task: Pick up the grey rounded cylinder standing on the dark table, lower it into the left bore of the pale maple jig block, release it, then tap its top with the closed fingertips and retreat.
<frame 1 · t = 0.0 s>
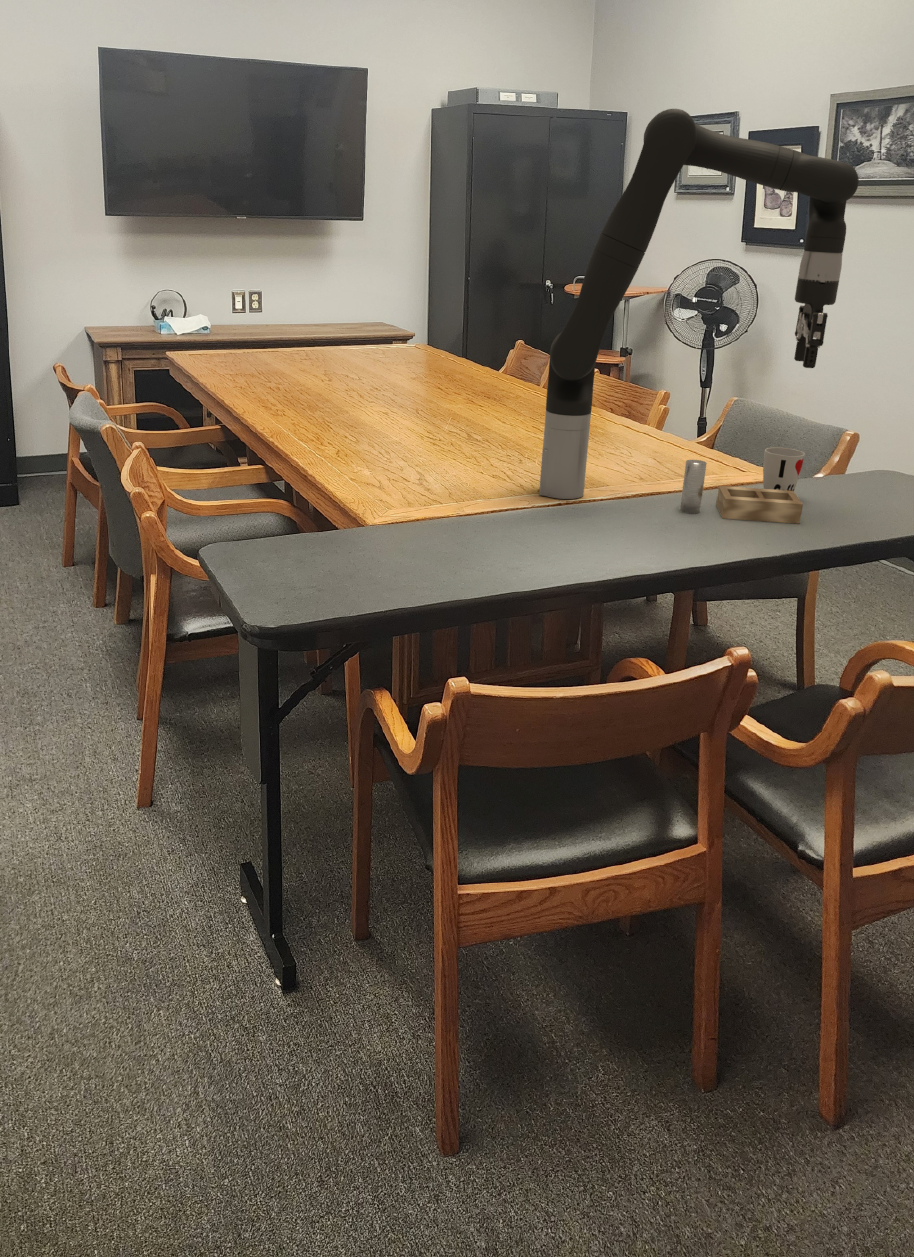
hand: (804, 364, 207), 29 cm above the table, fingers open, 8 cm apart
grey rounded cylinder: (689, 510, 214), on the table
cup: (777, 498, 226), on the table
jig: (756, 513, 214), on the table
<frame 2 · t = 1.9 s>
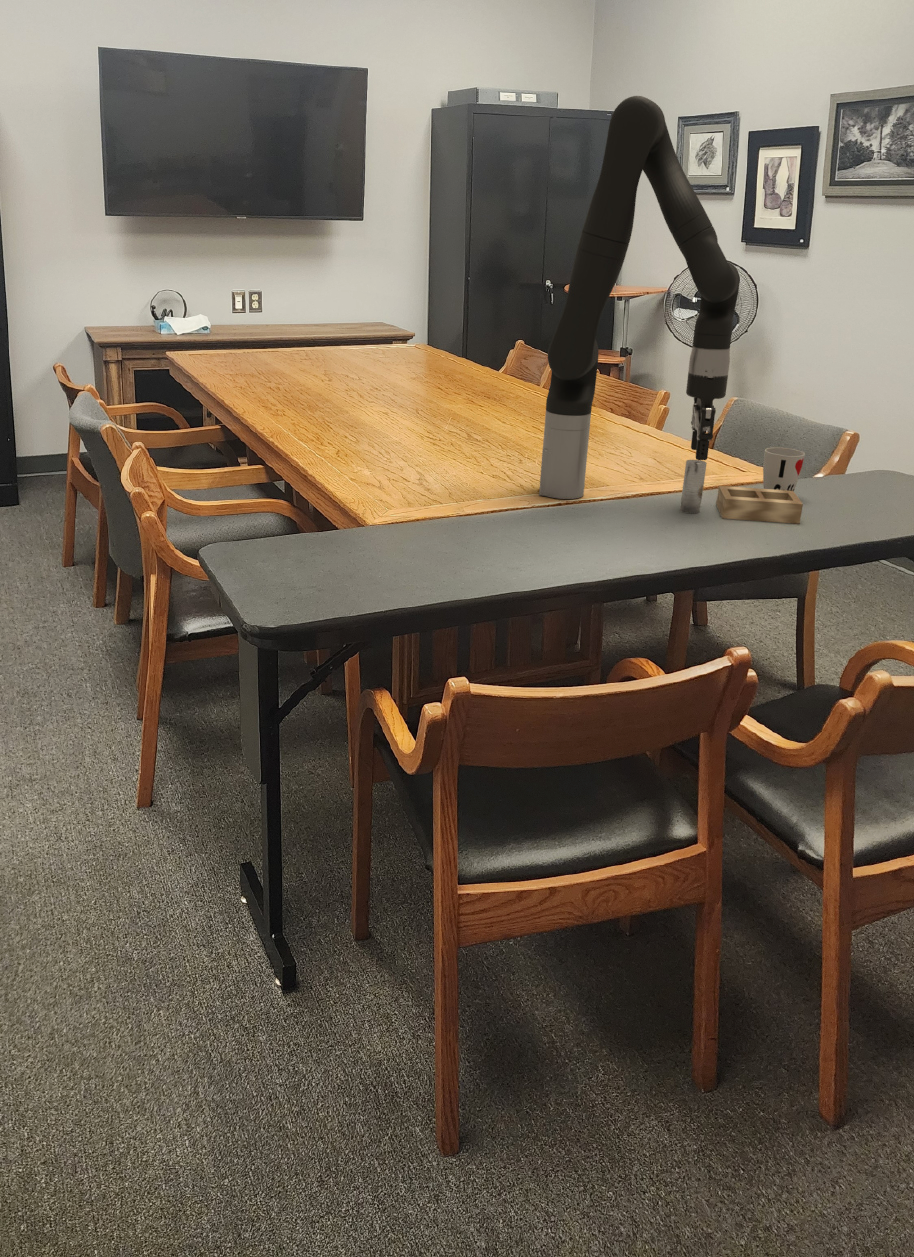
hand: (698, 454, 209), 11 cm above the table, fingers open, 8 cm apart
nothing on the table moved.
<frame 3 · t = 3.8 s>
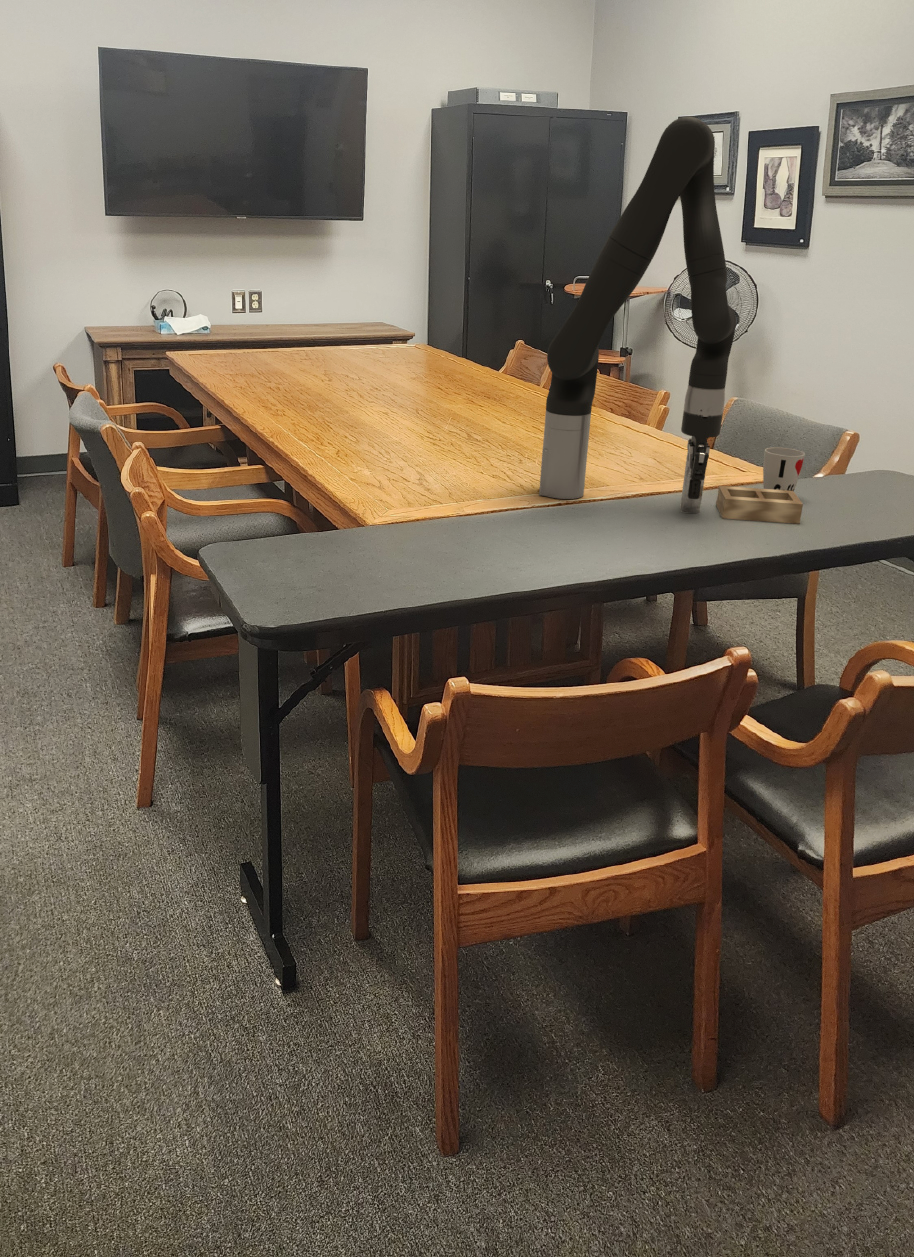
hand: (692, 495, 212), 3 cm above the table, fingers closed on grey rounded cylinder, 4 cm apart
grey rounded cylinder: (689, 510, 214), on the table, touching gripper
everything else where it was.
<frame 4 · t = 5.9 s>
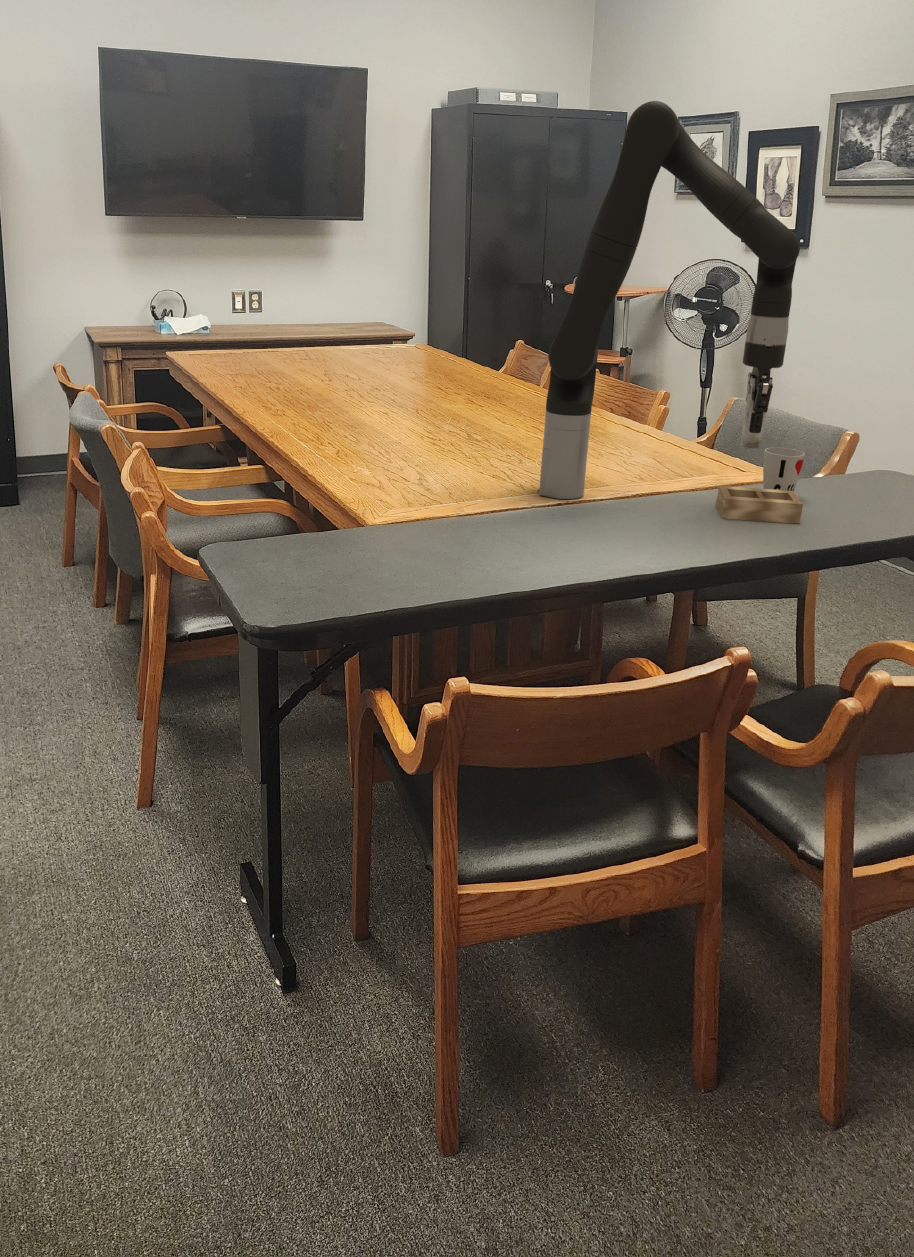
hand: (752, 429, 207), 17 cm above the table, fingers closed on grey rounded cylinder, 4 cm apart
grey rounded cylinder: (750, 446, 209), point 14 cm above the table, touching gripper
everything else where it was.
when the fingers open (5 cm above the table, at t = 8.3 s): grey rounded cylinder drops 2 cm, resting in jig.
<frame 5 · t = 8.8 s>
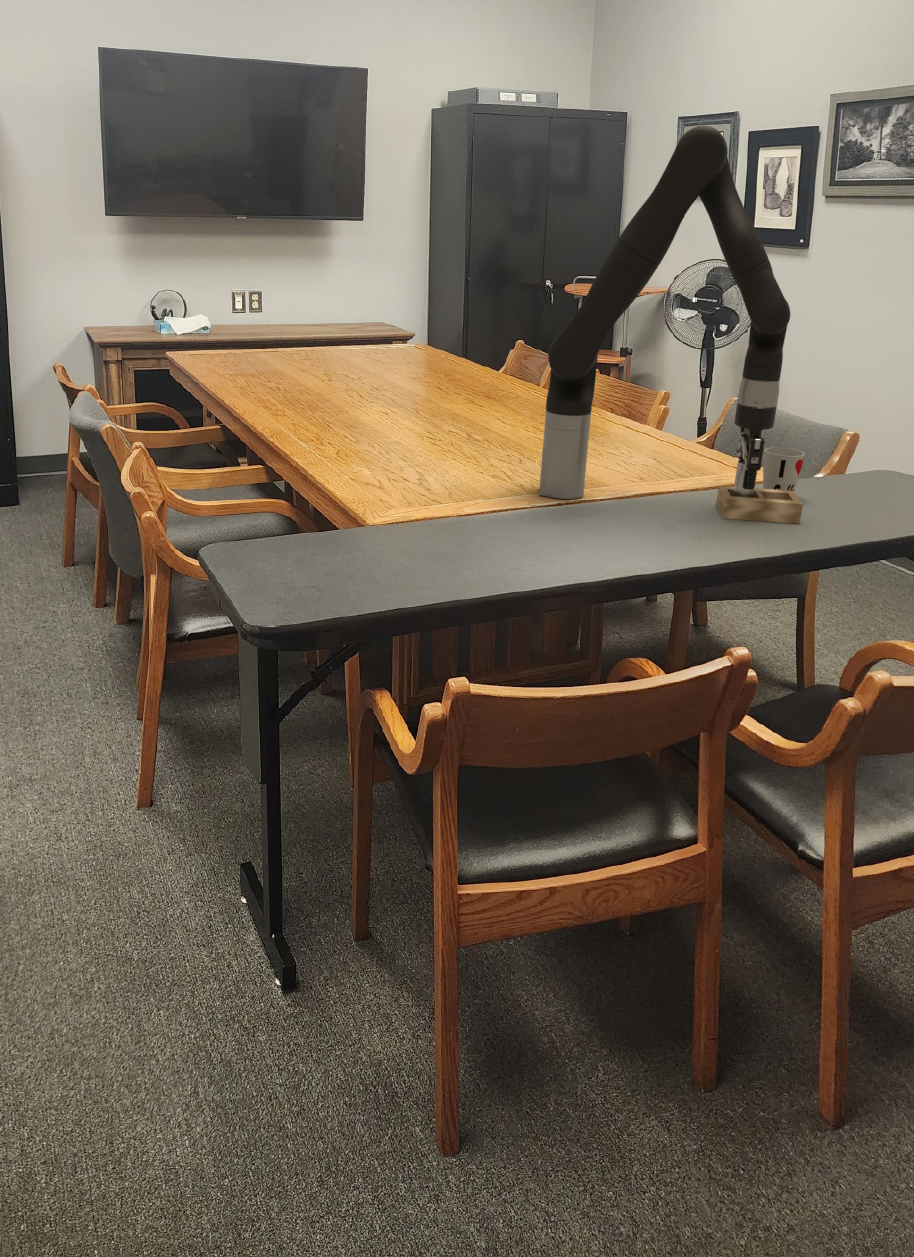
hand: (744, 483, 212), 6 cm above the table, fingers open, 8 cm apart
grey rounded cylinder: (740, 512, 214), resting in jig
everything else where it was.
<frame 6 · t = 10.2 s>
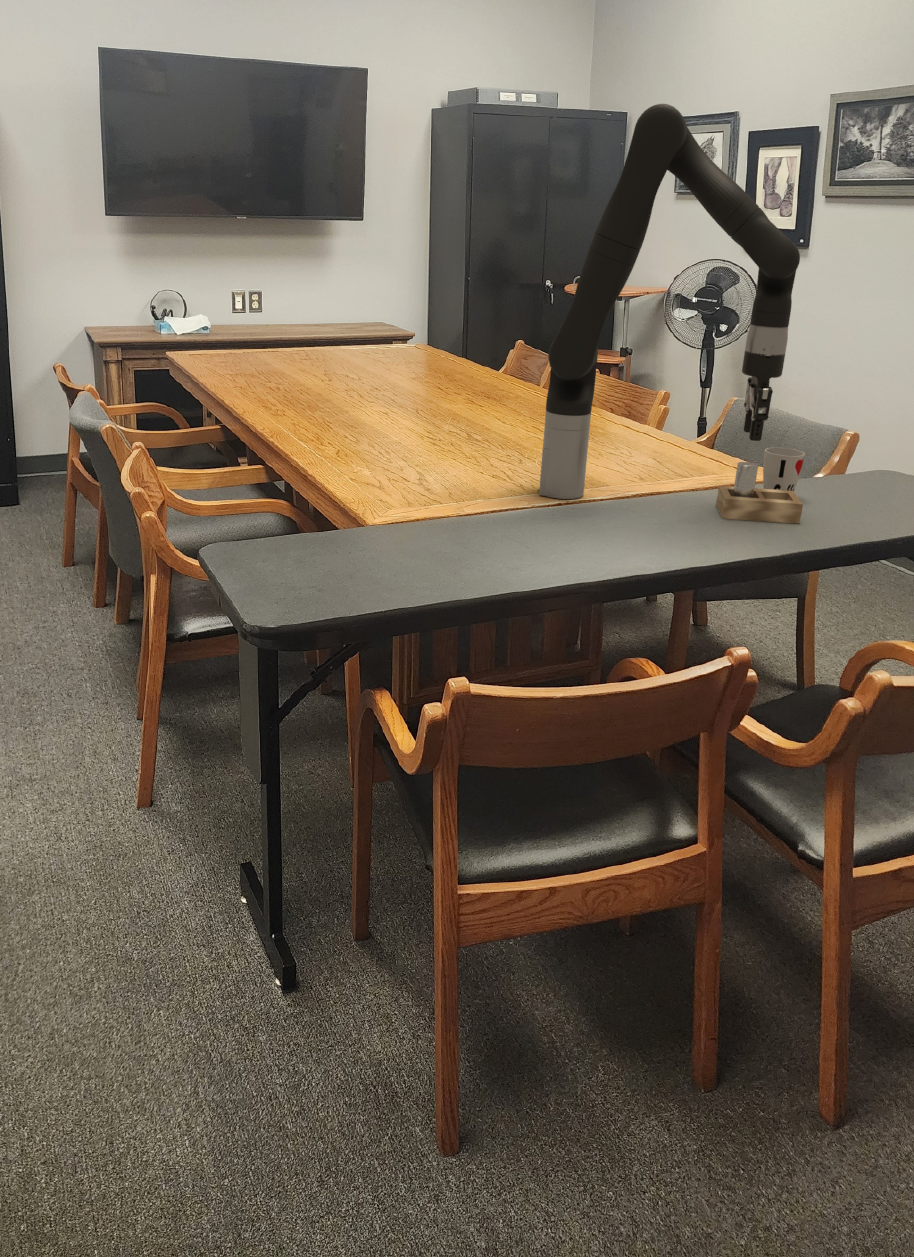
hand: (751, 435, 208), 16 cm above the table, fingers open, 7 cm apart
nothing on the table moved.
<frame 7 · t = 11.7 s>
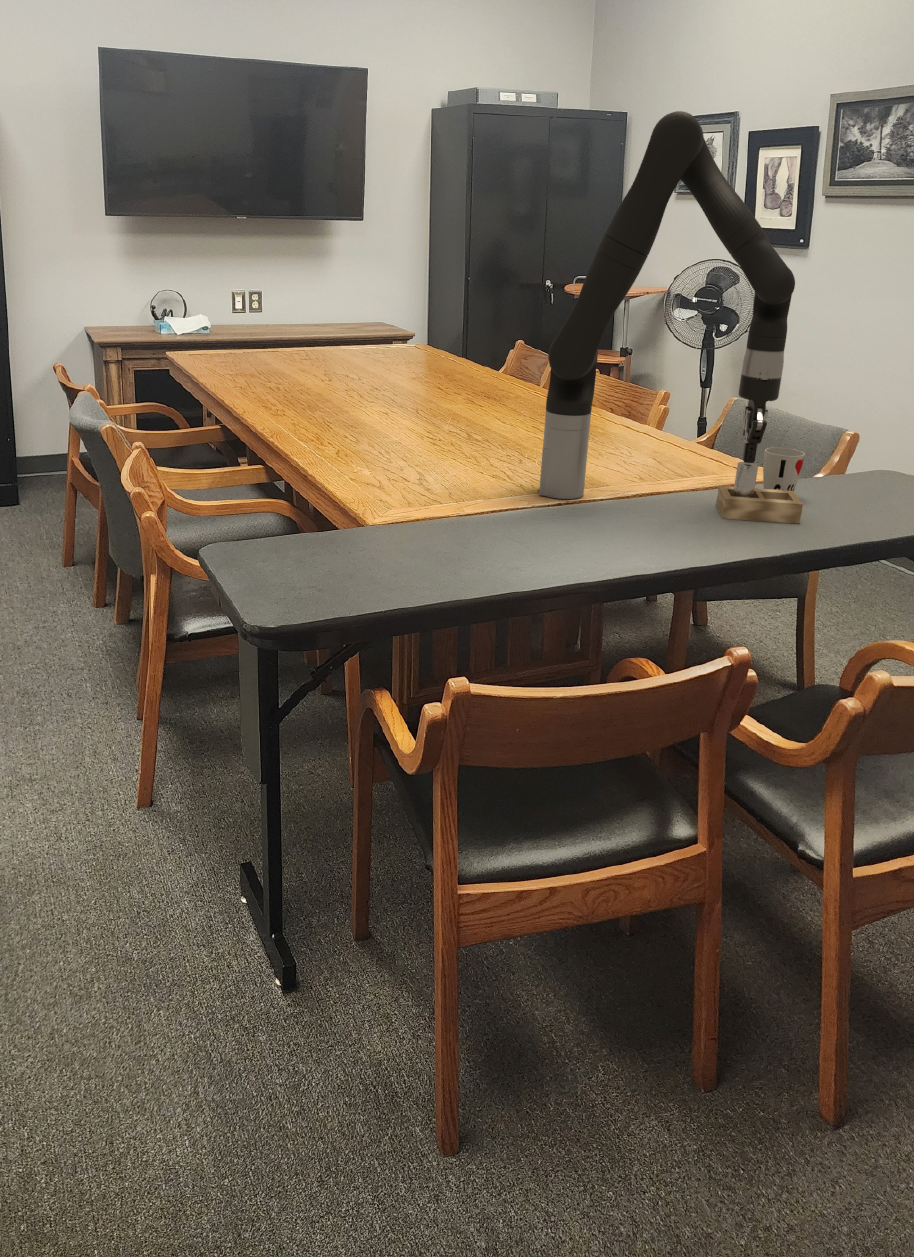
hand: (748, 461, 210), 10 cm above the table, fingers closed
nothing on the table moved.
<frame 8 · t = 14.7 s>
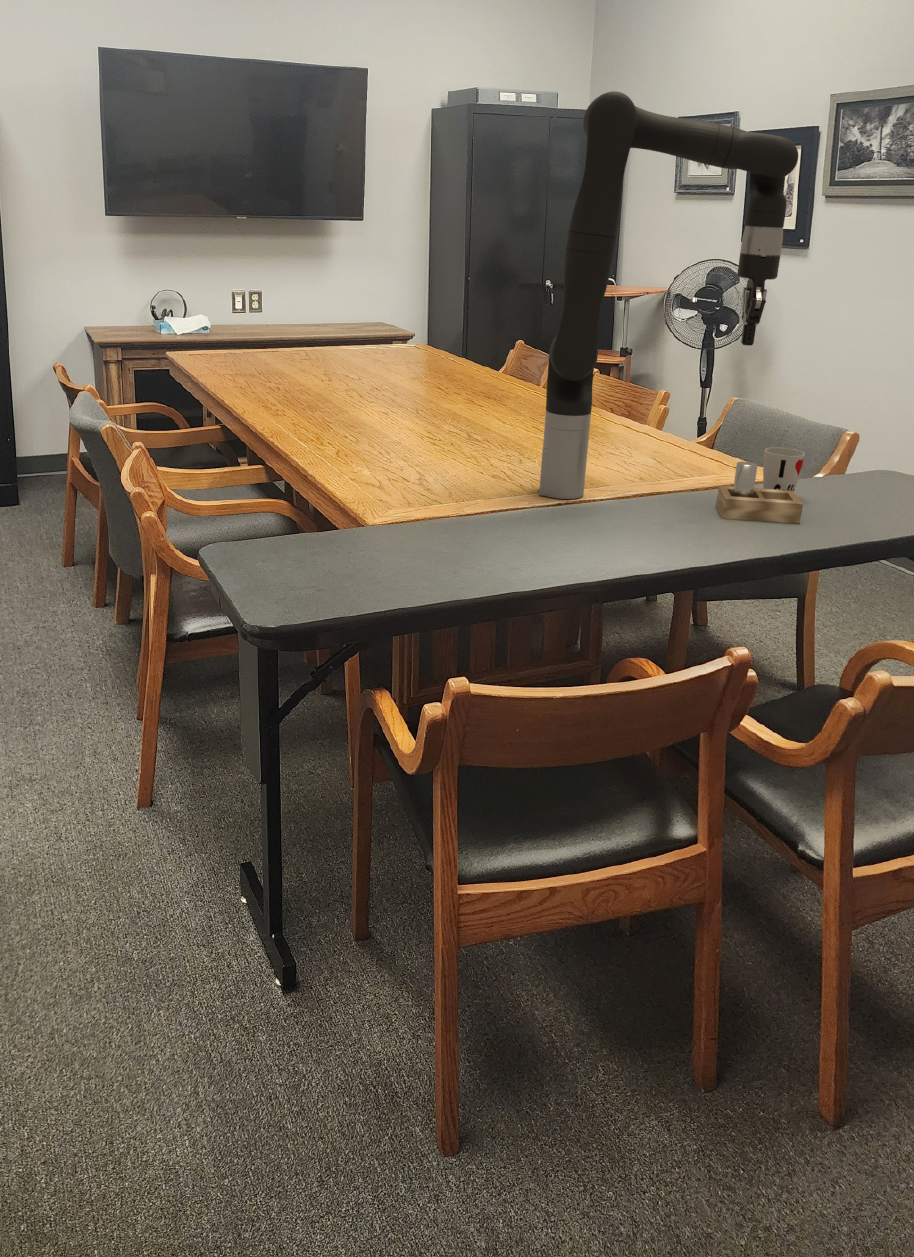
hand: (747, 344, 209), 32 cm above the table, fingers closed
nothing on the table moved.
at the end: grey rounded cylinder 0.0 cm from the target spot on the jig, point 0.0 cm above the jig's base; grey rounded cylinder tilted 1°; the gripper is holding nothing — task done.
